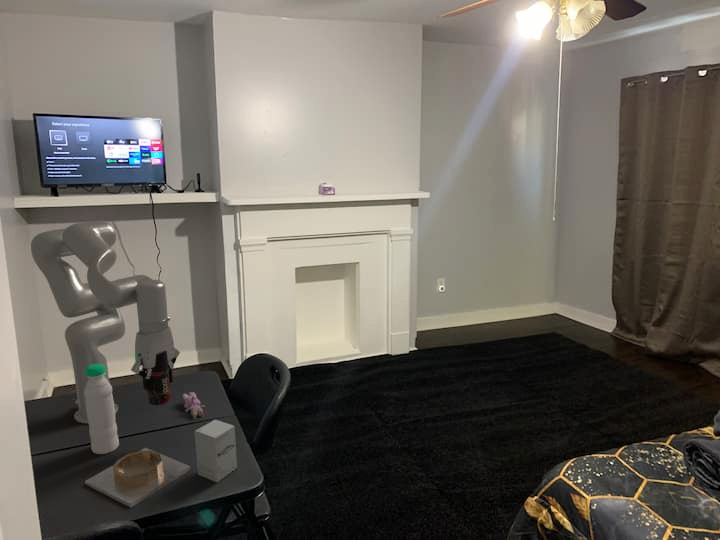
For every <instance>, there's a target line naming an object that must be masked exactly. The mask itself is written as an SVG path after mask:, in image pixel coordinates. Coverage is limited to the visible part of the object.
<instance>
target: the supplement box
mask: <svg viewBox="0 0 720 540" xmlns="http://www.w3.org/2000/svg"><path fill="white" fill-rule="evenodd" d="M235 432H236V430H235V425H233V424H230V423H227V422H223V421H221V420H217V419H213V420H211V421H210V422H209V423H207V424H204V425H203V426H201V427H199V428H197V429H196V430H195V431H194V443H195V454H196V455H195V457H196V467H197V469H196V470H197V475H198V476H201V477H203V478H205V479H208V480H210V481H212V482H215V483H219V482H220V481H222V479H224V478H226V477H227V476H228V475H230V474H231V473H233V472H234V471H236V470H237V469H238V461H237V446H236V433H235ZM236 468H237V469H236ZM235 469H236V470H235ZM232 471H233V472H232Z"/></svg>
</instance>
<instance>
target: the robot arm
mask: <svg viewBox="0 0 720 540" xmlns="http://www.w3.org/2000/svg"><path fill="white" fill-rule="evenodd" d="M116 241H117V233H116V230H115V228H114V227H113V225H112V224H110V223H109V222H107V221H105V220H93V221H85V222H78V223H74V224H71V225H68V226H67V227H66V228H58V229H52V230H46V231H43V232H39V233H38V234H37V235H35V236H34V237H33V238H32V239H31V243H30V251H31V255H32V258H33V261H34V263H35V265H36V266H37V268H38V269H39V270H40V271H41V273H42V275H43V276H44V278H45V279H46V281H47V283H48V285H49V288H50V290H51V293H52V294H53V298H54V300H55V302H56V304H57V307H58V309H59V311H60V313H61V314H62V316H64V318H69V319H70V318H73V319H74V318H77V317H81V316H85V315H88V314H92V313H95V312H96V314H97V315H94V316H89V317H87V318H83V319H79V320H76V321H74V322H73V323H70V324H69V325H68V326H67V327H66V329H65V331H64V338H65V342H66V345H67V347H68V350H69V353H70V356H71V363H72V369H73V376H74V382H75V389H76V390H75V391H76V395H77V399H76V400H75V401H74V403H75V404H76V405H78V410H77V411H76V412H75V413H74V421H75V422H77V423H81V424H89V423H88V418H87V411H86V398H85V396H84V390H85V388H86V386H87V382H88V380H89V378H88V377H87V375H86V368H87V367H88V366H89V365H92V364H103V365H104V366H105V374H104V377H105V378H106V379H107V380H108V382H109V383H110V377H109V375H110V374H109V368H108V361H107V357H106V356H105V354H103V353H102V352H100V351H99V348H100V347H102V346H104V345H107V344H110V343H113V342H115V341H119V340H120V339H122V338H124V336H125V333H126V324H125V321H124V318H123V316H122V313H121V311H120V309H121V308H124V307H127V306H130V305H134V304H136V310H137V321H138V331H137V332H136V334H135V341H134V361H135V362H134V363H133V366H132V367H131V369H130V371H131V372H133V373H134V374H137V375H138V376H140V377H141V378H142V385H143V390H145V391H147V392H148V391H150V392H152V391H153V381H152V378H151V377H150V376H151V371H152V368H153V367H155V362H156V355H157V354H159V353H162V352H164V351H167V358H168V368H169V381H170V384H172V383H173V369H174V367H175V366H174V365H175V363H176V362H177V359H178V357H179V355H180V354H181V352H180V350H178V349H177V348H175V343H174V338H173V333H172V330H171V327H170V326H169V321H171V317H170V316H169V315H168V308H167V294H166V293H167V291H166V284H165V283H164V281H162V280H159V279H152V278H151V277H149V276H147V275H146V274H145V275H144V274H137V275H132V276H128V277H121V278H119V279H115V280H110V279H108V278H107V277H106V276H104V274H105V273H107V272H108V271H109V270H110V269H111V268H112V267H114V265H115V263H116V261H117V252H116V250H115V249H114V248H113V246H114V245H115V243H116ZM71 256H76V258H77V259H79V260H80V261H81V262H82V264H84V265H85V266H86V268H87V273H86V279H87V282H86V283H84V282H82V280H81V279H80V275H79V274H78V273H79V272H77V269H76V268H75V267H74V266H72V264H70V263H69V262H67V261H65V260H64V259H62V258H65V257H71ZM140 368H141V369H140ZM146 369H147V372H146ZM114 408H115V415H116V414H117V413H119V406H118V404H117V403H115V402H114Z"/></svg>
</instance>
